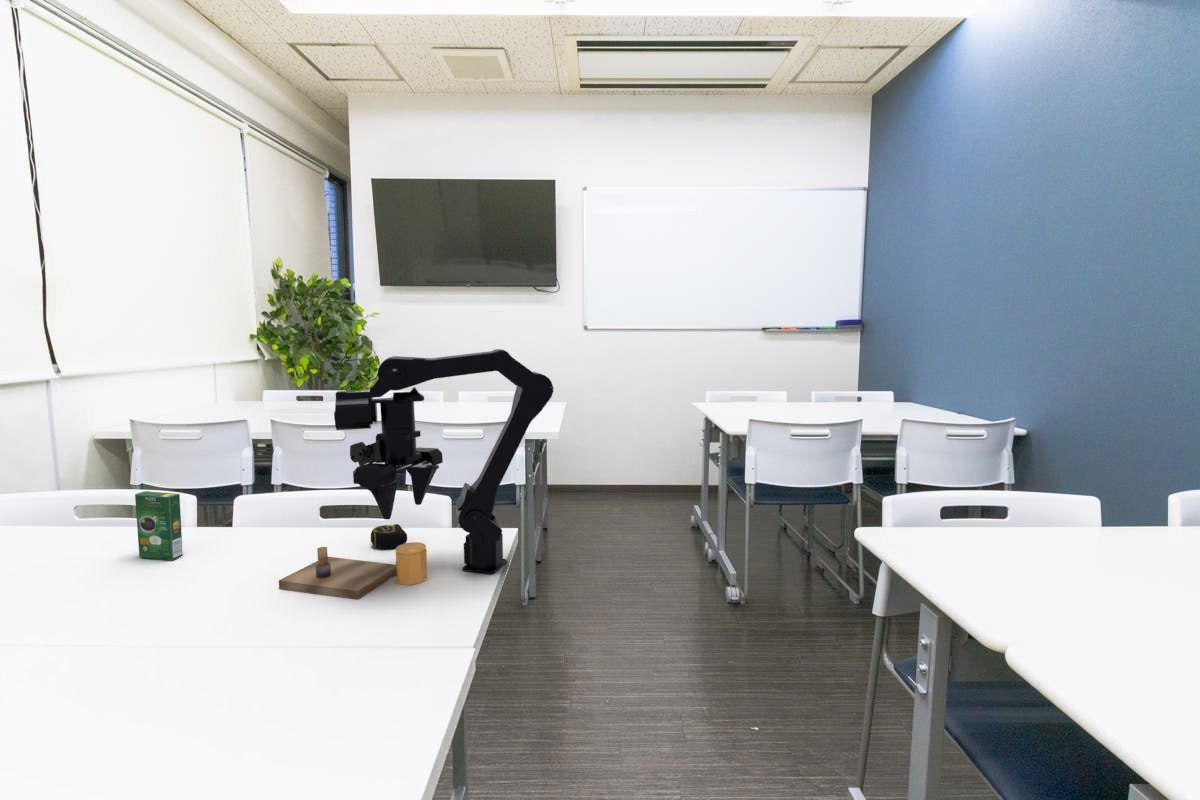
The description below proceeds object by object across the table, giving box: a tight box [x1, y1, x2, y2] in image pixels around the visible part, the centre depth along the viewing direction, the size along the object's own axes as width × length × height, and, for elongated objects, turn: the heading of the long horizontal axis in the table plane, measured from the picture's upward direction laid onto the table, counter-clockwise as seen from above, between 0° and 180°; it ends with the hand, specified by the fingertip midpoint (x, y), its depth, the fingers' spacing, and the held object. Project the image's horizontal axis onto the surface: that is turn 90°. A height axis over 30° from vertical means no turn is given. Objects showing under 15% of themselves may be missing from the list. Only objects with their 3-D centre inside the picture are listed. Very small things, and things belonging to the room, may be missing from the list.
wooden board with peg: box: [278, 546, 397, 600], centre depth 111 cm, size 16×12×6 cm
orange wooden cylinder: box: [395, 541, 428, 586], centre depth 112 cm, size 5×5×6 cm
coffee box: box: [134, 490, 184, 561], centre depth 122 cm, size 8×3×13 cm, turn 79°
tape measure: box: [370, 523, 408, 549], centre depth 130 cm, size 7×7×4 cm
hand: (403, 511), depth 113 cm, fingers open, 9 cm apart
